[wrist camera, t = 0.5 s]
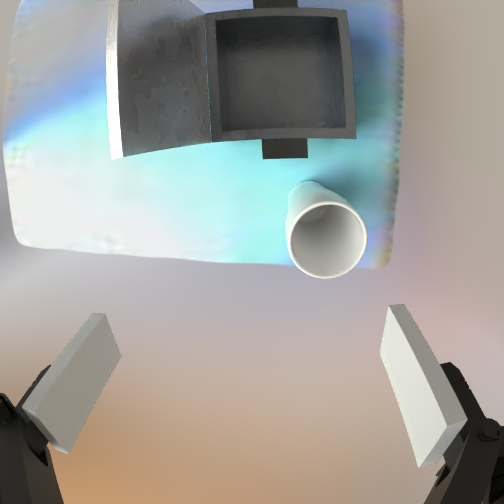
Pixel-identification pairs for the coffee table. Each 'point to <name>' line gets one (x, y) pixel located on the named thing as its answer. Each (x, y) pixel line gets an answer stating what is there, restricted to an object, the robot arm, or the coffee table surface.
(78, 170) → the coffee table surface
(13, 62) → the coffee table surface
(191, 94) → the lid
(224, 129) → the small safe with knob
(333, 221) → the white hollow cylinder
